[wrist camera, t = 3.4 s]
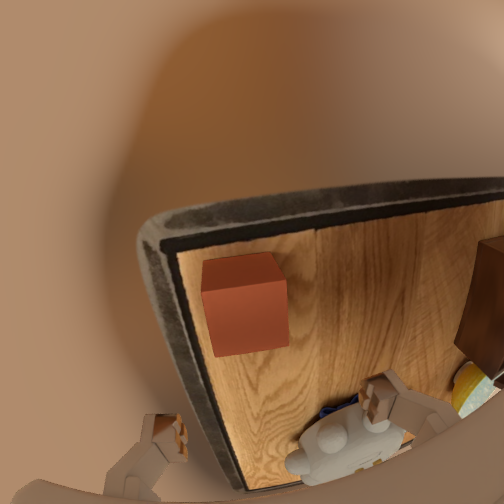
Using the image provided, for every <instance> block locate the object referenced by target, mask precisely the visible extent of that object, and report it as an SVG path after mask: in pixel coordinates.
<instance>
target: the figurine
mask: <svg viewBox="0 0 504 504" xmlns="http://www.w3.org/2000/svg"><path fill="white" fill-rule="evenodd" d="M358 395H359V394H357V395H356V396H355V397H354V398H353V399H352V401H351V402H350V404H349V403H345V404H343V405H341V406H338V407H336V409H335V408H329V407H326V408H323V409H322V410H321V411H320V419H321V420H319V421H317V422H316V423H315V424H313V425H312V426H310V427H309V428H308V429H307V430H306V431H305V432H304V433H303V434H302V435H301V437H300V439H299V442H298V447H299V449H297V450H295V451H293V452H291V453H290V454H288V455H287V457H286V458H285V467H286V469H287V470H288V472H290V473H291V474H294V475H300V477H301V479H302V481H303V482H304V483H305V484H307V485H310V486H315V485H318V484H322V483H325V482H329V481H332V480H335V479H339V478H342V477H345V476H348V475H351V474H353V473H356V472H359V471H362V470H364V469H367V468H369V467H372V466H374V465H377V464H379V463H382V462H383V461H385V460H386V459H388V458H389V457H390V456H391V455H392V454H394V453H395V452H397V450H398V449H399V448H400V446H401V443H402V441H403V438H404V433H405V432H407V431H406V430H404V429H402V428H401V427H399V426H397V425H395V424H394V423H392V422H390V421H388V419H387V420H384V421H382V422H379V423H376V424H373V425H372V424H371V422H370V421H369V419H368V417H367V416H366V414H367V410H364V409H362V407H361V405H360V402H359V397H358Z"/></svg>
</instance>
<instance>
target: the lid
mask: <svg viewBox="0 0 504 504" xmlns="http://www.w3.org/2000/svg"><path fill="white" fill-rule="evenodd" d="M493 386H495V387H498V388H499V389H503V388H504V373H503V374H502V375H500V376H499V377H498V378H496V379H495V380H494V383H493Z"/></svg>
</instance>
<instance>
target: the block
mask: <svg viewBox="0 0 504 504" xmlns="http://www.w3.org/2000/svg"><path fill="white" fill-rule="evenodd" d="M201 296H202V301H203V306H204V311H205V316H206V320H207V325H208V330H209V334H210V339H211V343H212V347H213V352H214V356H215V357H224V356H231V355H238V354H245V353H251V352H258V351H264V350H270V349H275V348H281V347H286V346H289V324H288V299H287V280H286V278H285V277H284V275H283V273H282V271H281V270H280V268H279V266H278V265H277V263H276V261H275V259H274V258H273V256H272V254H271V253H270V252H264V253H257V254H250V255H243V256H236V257H228V258H221V259H214V260H207V261H203V267H202V282H201Z"/></svg>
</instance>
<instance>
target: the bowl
mask: <svg viewBox="0 0 504 504" xmlns="http://www.w3.org/2000/svg"><path fill="white" fill-rule="evenodd" d="M503 373H504V371H503V372H502V373H501V374H500V375H502V374H503ZM500 375H498V376H497V377H496V378H498V377H499V376H500ZM496 378H494V379H493V380H492V381H491V380H490V379H489V378H488V377H487V376H486V375H485V374H484V373H483V372H482V371H481V370H480V369H479V368H478V367H477V366H476V365H475V364H474V363H473V362H472V361H469V362H467V363H465V364H464V365H463V366H462V367H461V368H460V369H459V370H458V372H457V373H456V375H455V377H454V380H453V382H454V383H455V386H454V388H453V392H452V398H451V404H452V407H453V408H454V409H455V410H456V412H457V413H458V414H459V415H460V416H461V418H462V419H463V418H465V417H466V416H468V415H469V414H470V413H472V412H473V411H475V410H476V409H477V408H479V407H480V406H481V405H482V404H483V403H484V402H485V401H486V400H487V399H488V397H489V396H490V395H491V394H492V393H493V391H494V390H495V388H496V387H495V386H493V383H494V380H495V379H496Z"/></svg>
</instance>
